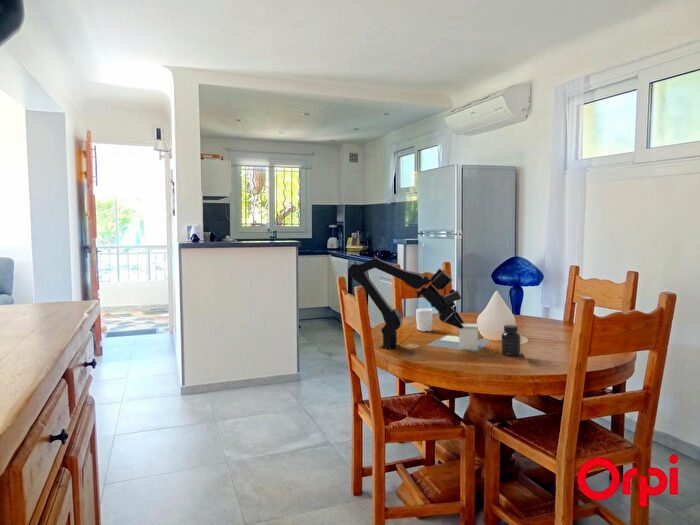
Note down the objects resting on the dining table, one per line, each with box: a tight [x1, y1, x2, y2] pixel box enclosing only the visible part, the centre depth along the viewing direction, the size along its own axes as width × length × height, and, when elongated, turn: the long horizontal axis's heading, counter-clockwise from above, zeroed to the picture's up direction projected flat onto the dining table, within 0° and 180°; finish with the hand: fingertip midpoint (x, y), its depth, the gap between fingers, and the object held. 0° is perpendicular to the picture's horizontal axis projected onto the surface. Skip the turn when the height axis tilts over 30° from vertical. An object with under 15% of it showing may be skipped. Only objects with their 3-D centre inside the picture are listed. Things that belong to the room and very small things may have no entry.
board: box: [426, 335, 492, 353], centre depth 200 cm, size 20×21×5 cm
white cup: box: [415, 307, 434, 332], centre depth 229 cm, size 8×8×10 cm
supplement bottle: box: [500, 324, 521, 358], centre depth 181 cm, size 7×7×12 cm
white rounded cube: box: [458, 322, 479, 351], centre depth 192 cm, size 7×7×9 cm
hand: (462, 325), depth 192 cm, fingers open, 9 cm apart
